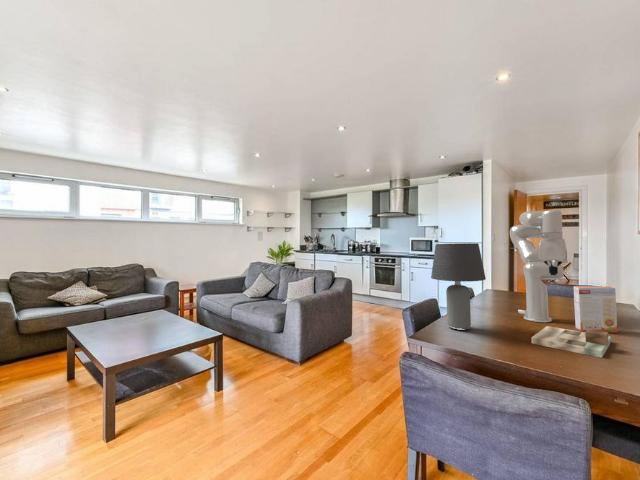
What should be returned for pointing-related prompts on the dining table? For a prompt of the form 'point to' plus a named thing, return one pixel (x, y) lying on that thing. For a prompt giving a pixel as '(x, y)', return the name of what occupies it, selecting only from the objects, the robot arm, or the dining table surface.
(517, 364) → the dining table surface
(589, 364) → the dining table surface
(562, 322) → the dining table surface
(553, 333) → the plate
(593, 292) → the cracker box
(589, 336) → the brown block
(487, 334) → the dining table surface
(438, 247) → the lamp
